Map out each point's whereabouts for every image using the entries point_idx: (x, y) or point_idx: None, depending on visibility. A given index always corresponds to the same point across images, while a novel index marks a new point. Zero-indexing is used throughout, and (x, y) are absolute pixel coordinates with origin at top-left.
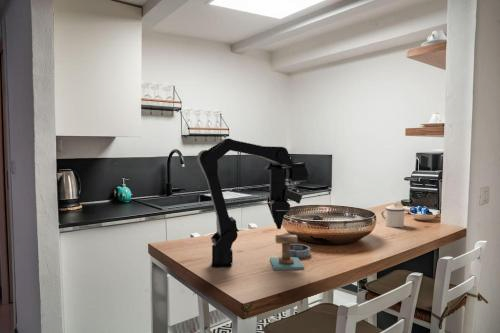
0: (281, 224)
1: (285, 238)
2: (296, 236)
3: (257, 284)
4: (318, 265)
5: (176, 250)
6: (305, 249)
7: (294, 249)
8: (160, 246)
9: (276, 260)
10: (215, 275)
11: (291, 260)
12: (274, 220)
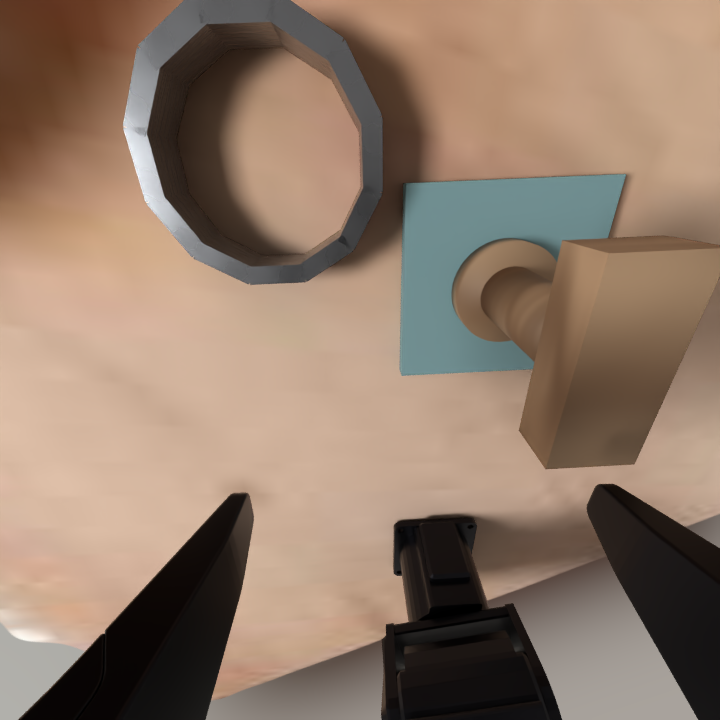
0: (696, 537)
1: (657, 384)
2: (696, 257)
3: (699, 434)
4: (574, 13)
5: (263, 654)
6: (206, 51)
7: (178, 168)
8: (222, 686)
9: (456, 343)
10: (547, 550)
11: (555, 263)
12: (688, 671)
